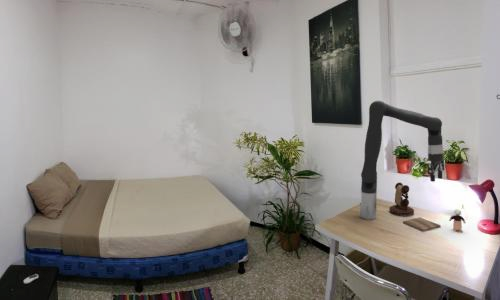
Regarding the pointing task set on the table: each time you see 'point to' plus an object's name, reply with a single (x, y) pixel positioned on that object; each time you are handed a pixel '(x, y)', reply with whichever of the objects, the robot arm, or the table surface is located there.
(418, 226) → the walnut board
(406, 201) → the brown wooden statue
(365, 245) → the table surface
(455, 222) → the grandmother figurine
